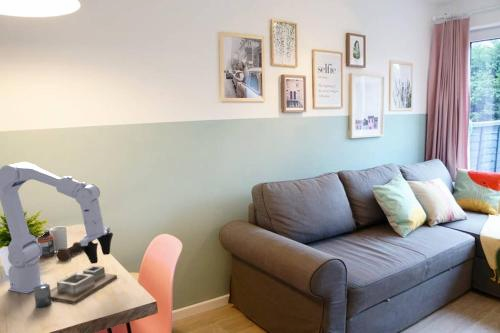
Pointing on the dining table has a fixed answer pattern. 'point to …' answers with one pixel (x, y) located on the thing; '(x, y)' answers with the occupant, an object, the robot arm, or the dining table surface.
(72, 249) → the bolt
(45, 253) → the supplement bottle
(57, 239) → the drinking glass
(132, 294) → the dining table surface
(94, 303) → the dining table surface
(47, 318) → the dining table surface
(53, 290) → the fitting board
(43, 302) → the gray metal cylinder
